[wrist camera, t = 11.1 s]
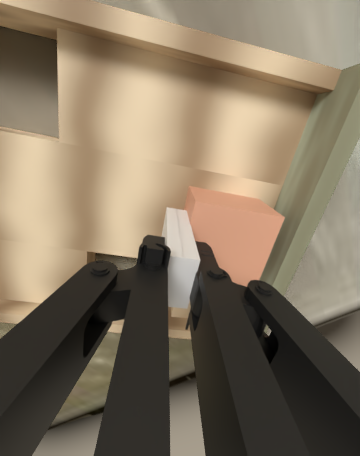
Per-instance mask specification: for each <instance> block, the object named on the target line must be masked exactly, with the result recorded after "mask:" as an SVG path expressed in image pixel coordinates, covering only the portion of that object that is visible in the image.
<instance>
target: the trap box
mask: <svg viewBox="0 0 360 456" xmlns="http://www.w3.org/2000/svg"><path fill="white" fill-rule="evenodd" d="M0 26H2V27H6V28H10V29H14V30H18V31H22V32H26V33H30V34H34V35H38V36H42V37H46V38H50V39H54V40H57V66H58V114H59V138H56V137H51V136H46V135H41V134H36V133H31V132H26V131H21V130H16V129H11V128H5V127H0V322H5V323H16V324H18V323H19V322H20V321H22V320H23V319H24V318H25V317H26V316H27V315H28V314H30V313H31V312H32V311H33V310H34V309H35V308H36V307H38V306H39V305H40V304H41V303H42V302H43V301H44V300H46V299H47V298H48V297H49V296H50V295H51V294H52V293H54V292H55V291H56V290H57V289H58V288H59V287H60V286H62V285H63V284H64V283H65V282H66V281H67V280H68V279H70V278H71V277H72V276H73V275H74V274H75V273H76V272H78V271H79V270H80V269H81V268H82V267H83V266H84V265H86V264H88V263H90V262H94V261H95V254H96V253H103V254H111V255H118V256H125V257H133V258H138V251H139V246H140V245H141V244H142V242H143V238H144V237H145V236H147V235H154V236H162V231H163V225H164V220H165V214H166V208H167V207H168V208H174V209H180V210H184V207H185V202H186V198H187V193H188V188H189V186H192V187H198V188H203V189H208V190H214V191H219V192H225V193H230V194H235V195H241V196H246V197H251V198H257V199H260V200H261V201H263V202H264V203H265V204H267V205H268V206H270V207H271V208H273V209H274V210H275V211H277V212H278V213H280V214H281V215H282V216H284V217H285V219H284V221H283V223H282V226H281V228H280V231H279V233H278V236H277V238H276V241H275V243H274V245H273V248H272V250H271V253H270V255H269V258H268V260H267V262H266V265H265V267H264V270H263V272H262V275H261V277H260V279H259V280H261V281H264V282H267V283H268V284H270V285H272V286H273V287H274V288H275V289H276V290H277V291H278V292H279V293H280V294H281V295H282V296H284V295H285V292H286V290H287V288H288V286H289V284H290V282H291V280H292V278H293V276H294V274H295V272H296V269H297V267H298V265H299V263H300V261H301V259H302V257H303V255H304V253H305V251H306V248H307V246H308V244H309V242H310V240H311V238H312V236H313V234H314V232H315V230H316V228H317V225H318V223H319V221H320V219H321V217H322V215H323V213H324V211H325V209H326V207H327V204H328V202H329V200H330V198H331V196H332V194H333V192H334V190H335V188H336V186H337V184H338V181H339V179H340V177H341V175H342V173H343V171H344V169H345V167H346V165H347V163H348V160H349V158H350V156H351V154H352V152H353V150H354V148H355V146H356V144H357V142H358V139H359V137H360V64H357V65H355V66H352V67H349V68H346V69H343V70H340V69H336V68H333V67H329V66H325V65H322V64H318V63H315V62H311V61H307V60H304V59H300V58H297V57H293V56H289V55H286V54H282V53H279V52H275V51H271V50H268V49H264V48H261V47H257V46H253V45H250V44H246V43H243V42H239V41H235V40H232V39H228V38H225V37H221V36H217V35H214V34H210V33H207V32H203V31H199V30H196V29H192V28H189V27H185V26H181V25H178V24H174V23H171V22H167V21H163V20H160V19H156V18H153V17H149V16H145V15H142V14H138V13H135V12H131V11H127V10H124V9H120V8H117V7H113V6H109V5H106V4H102V3H99V2H95V1H91V0H0ZM190 308H191V305H190V301H189V304H188V308H187V309H185V308H176V307H168V331H169V337H170V338H181V339H191V332H190V325H189V327H188V330H185V328H186V323H187V319H188V316H189V312H190ZM123 323H124V319H123V320H118V321H113V322H112V325H111V327H110V328H109V330H108V332H115V333H121V332H122V328H123ZM268 328H269V327H268V326H267V325H266V327H265V330H264V332H265V333H266V332H267V330H268Z"/></svg>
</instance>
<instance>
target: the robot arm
mask: <svg viewBox="0 0 360 456" xmlns="http://www.w3.org/2000/svg"><path fill="white" fill-rule="evenodd" d="M189 301H190V305H191V308H190V312H189V316H188V319H187V323H186V328H185V330H188V327H189V325H190V332H191V341H192V349H193V357H194V365H195V373H196V381H197V389H198V397H199V405H200V414H201V422H202V428H203V438H204V446H205V454H206V456H360V372H359V371H358V370H357V369H356V368H355V367H354V366H353V365H352V364H351V363H350V362H349V361H348V360H347V359H346V358H345V357H344V356H343V355H342V354H341V353H340V352H339V351H338V350H337V349H336V348H335V347H334V346H333V345H332V344H331V343H330V342H329V341H328V340H327V339H326V338H325V337H324V336H323V335H322V334H321V333H320V332H319V331H318V330H317V329H316V328H315V327H314V326H313V325H312V324H311V323H310V322H309V321H308V320H307V319H306V318H305V317H304V316H303V315H302V314H301V313H300V312H299V311H298V310H297V309H296V308H295V307H294V306H293V305H292V304H291V303H290V302H289V301H288V300H287V299H286V298H285V297H284V296H282V295H281V294H280V293H279V292H278V291H277V290H276V289H275V288H274V287H273V286H272V285H270V284H268V283H267V282H264V281H261V280H251V281H250V282H249V283H248V285H247V287H246V286H243V285H240V284H237V283H234V282H232V280H231V278H230V276H229V274H228V273H227V272H226V271H225V270H223V269H221V268H219V266H218V263H217V261H216V258H215V257H214V253H213V251H212V248H211V247H210V246H209V245H208V244H207V243H205V242H198V241H195V239H194V235H193V231H192V228H191V225H190V222H189V218H188V214H187V211H186V210H180V209H174V208H168V207H167V208H166V214H165V220H164V225H163V231H162V236H154V235H147V236H145V237H144V238H143V242H142V244H141V245H140V246H139V251H138V259H137V265H135V266H134V267H132V268H130V269H126V270H118V269H117V267H116V266H115V265H114V264H113V263H110V262H108V261H94V262H90V263H88V264H86V265H84V266H83V267H82V268H81V269H80V270H79V271H78V272H76V273H75V274H74V275H73V276H72V277H71V278H70V279H68V280H67V281H66V282H65V283H64V284H63V285H62V286H60V287H59V288H58V289H57V290H56V291H55V292H54V293H52V294H51V295H50V296H49V297H48V298H47V299H46V300H44V301H43V302H42V303H41V304H40V305H39V306H38V307H36V308H35V309H34V310H33V311H32V312H31V313H30V314H28V315H27V316H26V317H25V318H24V319H23V320H22V321H20V322H19V323H18V324H17V325H16V326H15V327H14V328H12V329H11V330H10V331H9V332H8V333H7V334H6V335H4V336H3V337H2V338H1V339H0V456H32V454H33V453H34V451H35V449H36V448H37V446H38V445H39V443H40V441H41V439H42V438H43V436H44V435H45V433H46V431H47V430H48V428H49V427H50V425H51V423H52V422H53V420H54V418H55V417H56V415H57V414H58V412H59V410H60V409H61V407H62V405H63V404H64V402H65V400H66V399H67V397H68V396H69V394H70V392H71V391H72V389H73V387H74V386H75V384H76V382H77V381H78V379H79V378H80V376H81V374H82V373H83V371H84V369H85V368H86V366H87V364H88V363H89V361H90V360H91V358H92V356H93V355H94V353H95V351H96V350H97V348H98V346H99V345H100V343H101V342H102V340H103V338H104V337H105V335H106V333H107V332H108V330H109V328H110V327H111V325H112V322H113V321H118V320H123V319H124V323H123V328H122V332H121V337H120V341H119V346H118V350H117V354H116V359H115V363H114V368H113V372H112V377H111V381H110V386H109V390H108V395H107V399H106V404H105V408H104V412H103V417H102V421H101V426H100V430H99V435H98V440H97V444H96V448H95V453H94V456H170V416H169V415H170V409H169V408H170V407H169V331H168V307H176V308H185V309H187V308H188V304H189ZM266 325H267V326H268V327H269V328H270V329H271V331H272V332H271V334H270V335H269V336H268V335H267V334H266V333H265V332H264V330H265V327H266Z"/></svg>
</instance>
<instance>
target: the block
mask: <svg viewBox="0 0 360 456" xmlns="http://www.w3.org/2000/svg"><path fill="white" fill-rule="evenodd" d="M184 210H186V211H187V214H188V218H189V222H190V225H191V228H192V231H193V235H194V239H195V241H198V242H205V243H207V244H208V245H209V246H210V247H211V248H212V251H213V253H214V257H215V258H216V261H217V263H218V266H219V268H221V269H223V270H225V271H226V272H227V273H228V274H229V276H230V278H231V280H232V282H234V283H237V284H240V285H243V286H246V287H247V285H248V283H249V282H250V281H251V280H259V279H260V277H261V275H262V272H263V270H264V267H265V265H266V262H267V260H268V258H269V255H270V253H271V250H272V248H273V245H274V243H275V241H276V238H277V236H278V233H279V231H280V228H281V226H282V223H283V221H284V219H285V217H284V216H282V215H281V214H280V213H278V212H277V211H275V210H274V209H273V208H271V207H270V206H268V205H267V204H265V203H264V202H263V201H261V200H260V199H257V198H251V197H246V196H241V195H235V194H230V193H225V192H219V191H214V190H208V189H203V188H198V187H192V186H189V188H188V193H187V198H186V202H185V207H184Z"/></svg>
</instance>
